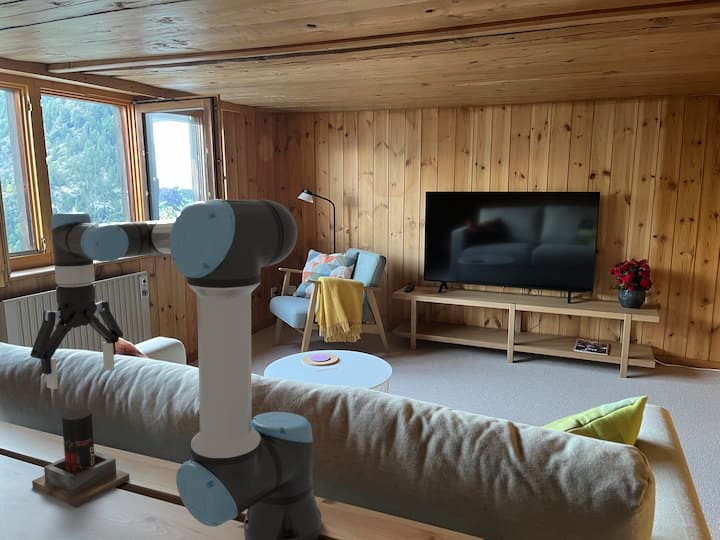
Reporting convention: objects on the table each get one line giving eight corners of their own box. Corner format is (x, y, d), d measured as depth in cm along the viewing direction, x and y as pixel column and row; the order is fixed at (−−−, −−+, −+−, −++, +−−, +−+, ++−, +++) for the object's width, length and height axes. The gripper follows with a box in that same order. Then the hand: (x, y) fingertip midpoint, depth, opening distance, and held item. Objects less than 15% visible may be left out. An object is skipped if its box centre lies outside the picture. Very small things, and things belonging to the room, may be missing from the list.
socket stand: (129, 479, 126) (128, 459, 125) (76, 507, 115) (74, 485, 114) (86, 462, 134) (85, 443, 133) (32, 487, 123) (30, 466, 122)
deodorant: (69, 472, 126) (64, 410, 124) (97, 469, 128) (93, 407, 126) (64, 485, 120) (59, 421, 118) (93, 481, 122) (89, 418, 120)
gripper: (114, 275, 131) (119, 361, 134) (5, 291, 109) (14, 393, 112) (135, 277, 127) (140, 365, 130) (27, 294, 106) (36, 399, 109)
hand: (82, 378), depth 121 cm, fingers open, 13 cm apart
